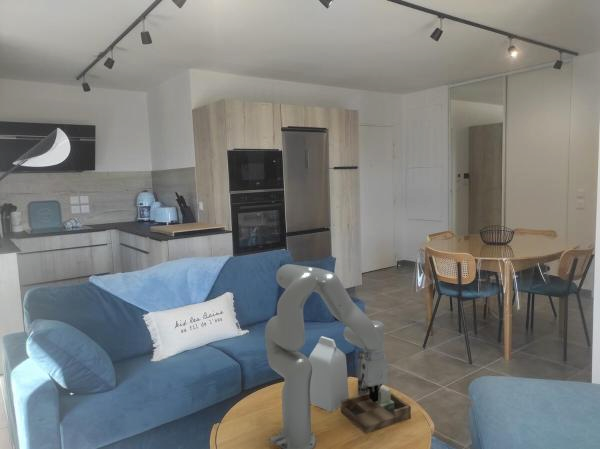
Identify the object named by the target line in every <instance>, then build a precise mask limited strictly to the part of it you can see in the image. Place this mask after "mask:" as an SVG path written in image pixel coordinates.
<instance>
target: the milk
mask: <svg viewBox="0 0 600 449" xmlns="http://www.w3.org/2000/svg"><path fill="white" fill-rule="evenodd" d="M308 359H309V360H310V362H311V364H312V377H311V383H310V405H313V406H315V407H319V408H320V409H322V408H323V409H322V410H325V411H327V412H329V413H333V412H335V410H337V409H338V408H341V401H343V400H346V399H349V398H350V395H349V382H348V369H347V356H346V354H345V353H344V352H343V351H342V350H341V349H339V348H338V347H337V345H336V342H335V340H334V339H332V338H329V337H326V336H323V335H322V336H320V337H319V339H318V342H317V343H316V345H315V347H314V348H313V350H312V351H311V352H310V355H309V356H308Z"/></svg>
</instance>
